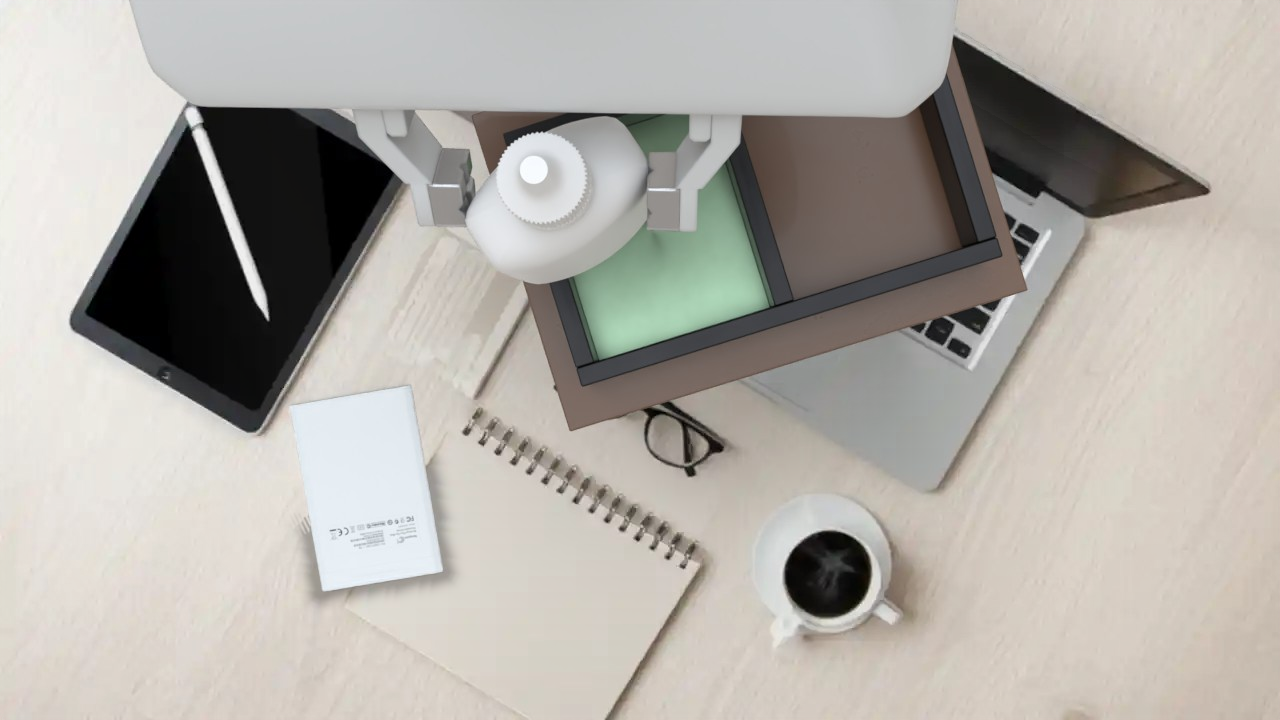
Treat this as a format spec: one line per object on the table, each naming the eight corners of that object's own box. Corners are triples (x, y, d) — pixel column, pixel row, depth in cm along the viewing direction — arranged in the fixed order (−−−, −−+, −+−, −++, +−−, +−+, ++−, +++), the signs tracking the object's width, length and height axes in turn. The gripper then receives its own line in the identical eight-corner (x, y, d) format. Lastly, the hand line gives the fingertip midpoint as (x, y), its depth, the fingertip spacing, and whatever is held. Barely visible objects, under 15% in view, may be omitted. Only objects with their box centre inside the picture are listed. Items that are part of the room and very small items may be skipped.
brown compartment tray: (475, 120, 47) (458, 102, 44) (922, -24, 46) (943, -55, 43) (572, 429, 48) (563, 437, 44) (1019, 291, 47) (1048, 288, 43)
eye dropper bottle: (497, 165, 39) (413, 91, 27) (654, 151, 39) (640, 70, 27) (507, 287, 39) (428, 267, 27) (663, 274, 39) (654, 248, 27)
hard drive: (415, 383, 73) (447, 567, 73) (295, 404, 73) (328, 587, 73) (409, 384, 71) (442, 572, 71) (287, 405, 72) (320, 592, 72)
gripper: (-41, -255, 21) (185, 280, 31) (1042, -252, 20) (914, 296, 30) (88, -348, 25) (249, 148, 35) (983, -349, 25) (889, 159, 35)
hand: (561, 217), depth 33 cm, fingers closed on eye dropper bottle, 5 cm apart
